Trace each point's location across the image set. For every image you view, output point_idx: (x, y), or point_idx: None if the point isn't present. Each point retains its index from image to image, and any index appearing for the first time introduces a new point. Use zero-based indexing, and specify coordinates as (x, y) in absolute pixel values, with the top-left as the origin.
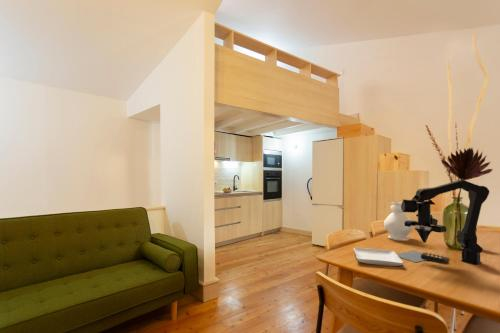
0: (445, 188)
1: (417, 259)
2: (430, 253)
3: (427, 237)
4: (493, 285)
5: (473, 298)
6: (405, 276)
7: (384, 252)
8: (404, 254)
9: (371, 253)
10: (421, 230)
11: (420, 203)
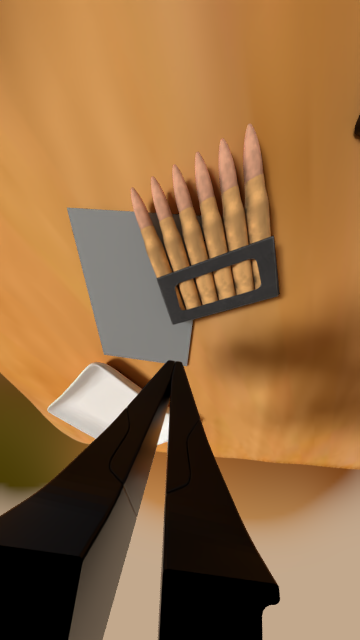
0: None
1: (174, 338)
2: (177, 238)
3: (195, 412)
4: None
5: (345, 455)
6: (219, 440)
7: (91, 375)
8: (112, 319)
9: (84, 391)
10: (106, 597)
11: None
